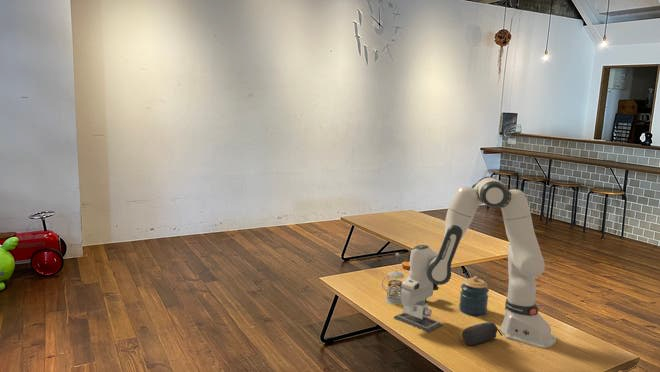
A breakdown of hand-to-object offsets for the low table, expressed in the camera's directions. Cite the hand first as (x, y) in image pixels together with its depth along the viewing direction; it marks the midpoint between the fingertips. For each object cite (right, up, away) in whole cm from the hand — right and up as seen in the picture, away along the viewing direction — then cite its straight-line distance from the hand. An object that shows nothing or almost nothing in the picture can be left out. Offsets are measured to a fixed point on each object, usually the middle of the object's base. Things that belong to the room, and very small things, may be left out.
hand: (416, 309), depth 221 cm
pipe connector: (+9, -2, +27) cm, 28 cm away
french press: (-8, -2, +24) cm, 25 cm away
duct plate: (+1, -6, 0) cm, 6 cm away
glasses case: (+23, -10, -17) cm, 31 cm away
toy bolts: (+14, +6, +74) cm, 76 cm away
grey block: (0, -2, 0) cm, 2 cm away
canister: (+30, -5, +15) cm, 33 cm away
